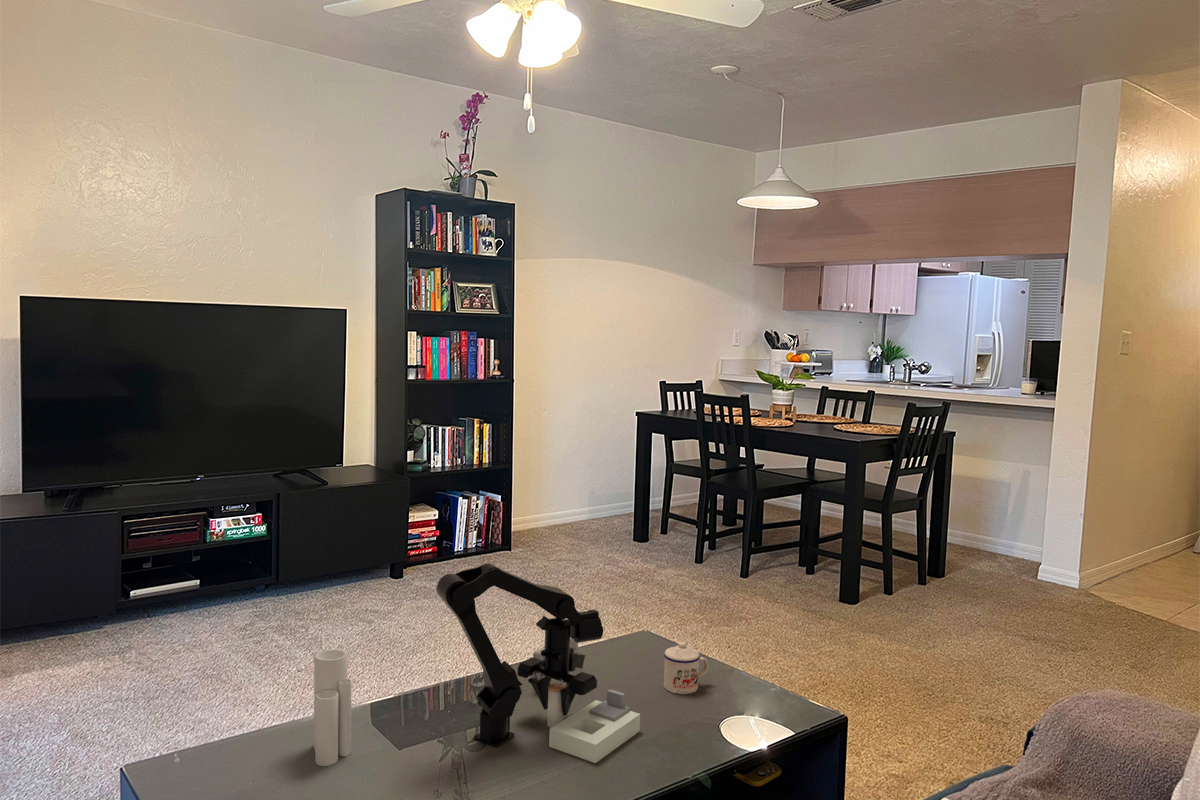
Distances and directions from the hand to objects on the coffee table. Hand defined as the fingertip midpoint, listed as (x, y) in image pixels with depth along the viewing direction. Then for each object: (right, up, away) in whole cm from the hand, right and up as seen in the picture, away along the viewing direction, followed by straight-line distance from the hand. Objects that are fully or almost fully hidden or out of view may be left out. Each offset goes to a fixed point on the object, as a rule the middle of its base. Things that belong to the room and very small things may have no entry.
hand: (555, 712), depth 194 cm
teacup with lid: (+32, -2, +23) cm, 40 cm away
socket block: (+9, -4, -6) cm, 11 cm away
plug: (0, -3, 0) cm, 3 cm away
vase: (-46, -3, -15) cm, 49 cm away
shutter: (+12, +1, -1) cm, 12 cm away
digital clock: (0, -2, +23) cm, 23 cm away
